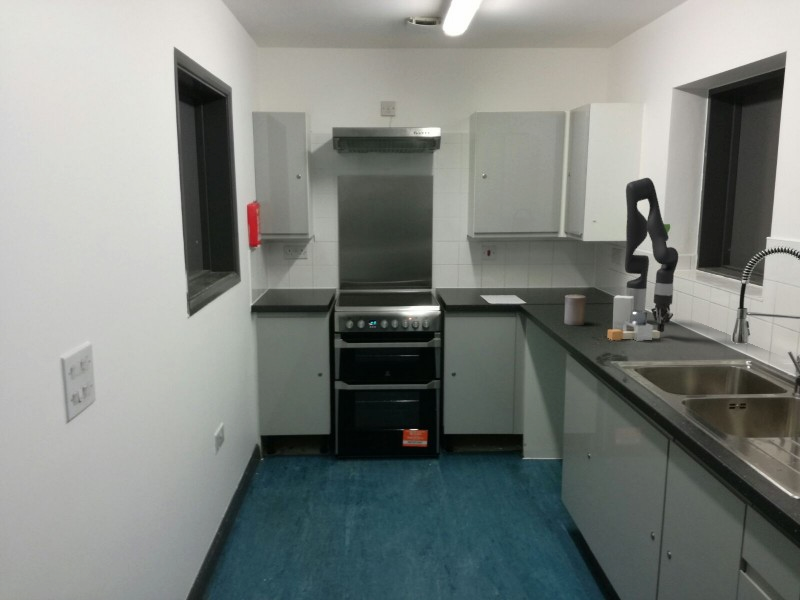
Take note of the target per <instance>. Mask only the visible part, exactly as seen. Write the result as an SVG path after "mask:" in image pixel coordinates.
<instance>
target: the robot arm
mask: <svg viewBox="0 0 800 600" xmlns="http://www.w3.org/2000/svg"><path fill="white" fill-rule="evenodd" d="M625 198H626V199H625V200H626V233H625V235H626V240H625V241H626V245H625V246H626V247H625V257H624V258H625V259H624V270H625V272H626V274H632V275H640V276H638V277H637V278H635V279H630V280H628V281H627V282H626V286H625V287H626V288H625V289H626V290H625V296H634V309H633V310H641V311H646V299H647V285H648V273H649V265H650V257H649V256H648V255H645V254H634V253H635V252H636V250H637V248H638V247H639V246H641V244H642V243H643V242H644V241H645V240H646V239H647V237H648V236H649V238H650V241H651V247H652V248H651V249H652V255H653V257H654V260H655V262H656V263H658V264H660V265H661V266H660V268H659V269H658V270H657V271H656V274H655V275H656V276H655V284H654V291H653V303H654V304H655V306H654V308H651V309H650V310H651V313H652V316H653V319H654V321H655V322H656V323H657V329H656V330H657V331H660V333H663V332H664V331H665V324H668V323H669V322H670V321H671V319H672V318H673V316H674V314H673V312H672V313H671V308H670V307H671V305H673V295H674V279H675V278H674V274H675V271H676V268H677V265H678V262H679V253H678V250H677V249H676V248H675V247H672V246H667V241H668V240H669V235H668V232H667V229H666V227H665V223H664V221H663V218H662V213H661V208H660V205H659V199H658V194H657V190H656V187H655V184H654V182H653V181H652V179H651V178H649V177H642V178H639V179H635V180H632V181H630V182H629V183H627V184H626V188H625ZM644 200H647V201H648V205H649V210H648V215H647V218H646V217H645V216H644V215H643V214H642V212H641V211H640V210H639V209H638V202H642V201H644Z"/></svg>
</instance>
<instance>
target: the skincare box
mask: <svg viewBox="0 0 800 600" xmlns="http://www.w3.org/2000/svg"><path fill="white" fill-rule="evenodd" d="M612 306H613V310H612V311H613V313H612V329H619V330H621V331H623V320H630V311H632V310H633V309H634V296H626V295H615V296H614V297H613V305H612Z"/></svg>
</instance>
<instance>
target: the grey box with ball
mask: <svg viewBox="0 0 800 600" xmlns="http://www.w3.org/2000/svg"><path fill="white" fill-rule="evenodd" d="M647 321H648V311H646V310H645V311H641V310H632V311H630V320H623V330H622V331H634V340H633V341H635V340H636V342H644V341H643V340H652V341H653V339H652V334H653V330H654V325H653V324H650V323H647Z"/></svg>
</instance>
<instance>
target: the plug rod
mask: <svg viewBox="0 0 800 600" xmlns="http://www.w3.org/2000/svg"><path fill="white" fill-rule="evenodd" d="M606 335H607V336H606V337H607V338H609V339H608V340H610V339H611V340H610V341H612V340H615V341H622V340H621V339H631V340H633V339H634V331H623V330H619V329H613V328H612V329H607V334H606ZM660 336H661V332H660V331H657V329H653V334H652V338H653V339H661V337H660Z"/></svg>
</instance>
